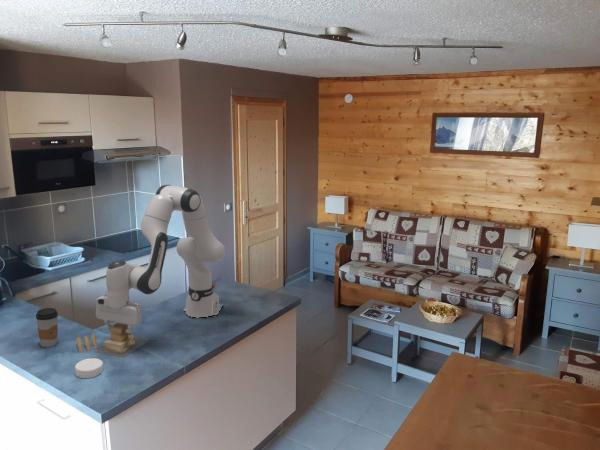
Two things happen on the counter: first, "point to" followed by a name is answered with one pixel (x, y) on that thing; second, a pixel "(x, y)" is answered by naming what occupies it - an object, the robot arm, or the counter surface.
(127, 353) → the mat
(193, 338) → the counter surface
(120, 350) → the base block
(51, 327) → the coffee cup
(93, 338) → the ammunition
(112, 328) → the oak block
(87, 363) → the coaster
